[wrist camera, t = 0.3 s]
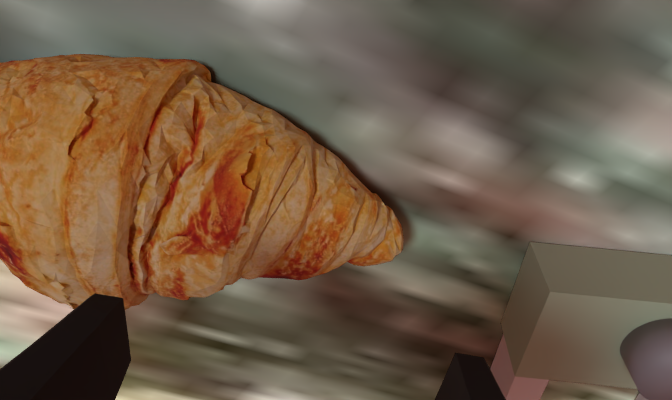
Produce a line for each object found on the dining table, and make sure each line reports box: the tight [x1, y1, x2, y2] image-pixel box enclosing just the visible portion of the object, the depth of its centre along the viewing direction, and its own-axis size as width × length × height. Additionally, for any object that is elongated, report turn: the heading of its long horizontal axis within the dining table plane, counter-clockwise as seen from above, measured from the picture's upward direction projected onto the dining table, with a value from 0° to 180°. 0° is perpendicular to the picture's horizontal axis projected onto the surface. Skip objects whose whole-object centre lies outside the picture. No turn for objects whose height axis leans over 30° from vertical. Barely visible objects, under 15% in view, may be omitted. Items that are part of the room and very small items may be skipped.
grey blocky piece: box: [490, 242, 672, 400], centre depth 22 cm, size 13×10×5 cm
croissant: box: [0, 54, 404, 310], centre depth 18 cm, size 21×10×8 cm, turn 79°
